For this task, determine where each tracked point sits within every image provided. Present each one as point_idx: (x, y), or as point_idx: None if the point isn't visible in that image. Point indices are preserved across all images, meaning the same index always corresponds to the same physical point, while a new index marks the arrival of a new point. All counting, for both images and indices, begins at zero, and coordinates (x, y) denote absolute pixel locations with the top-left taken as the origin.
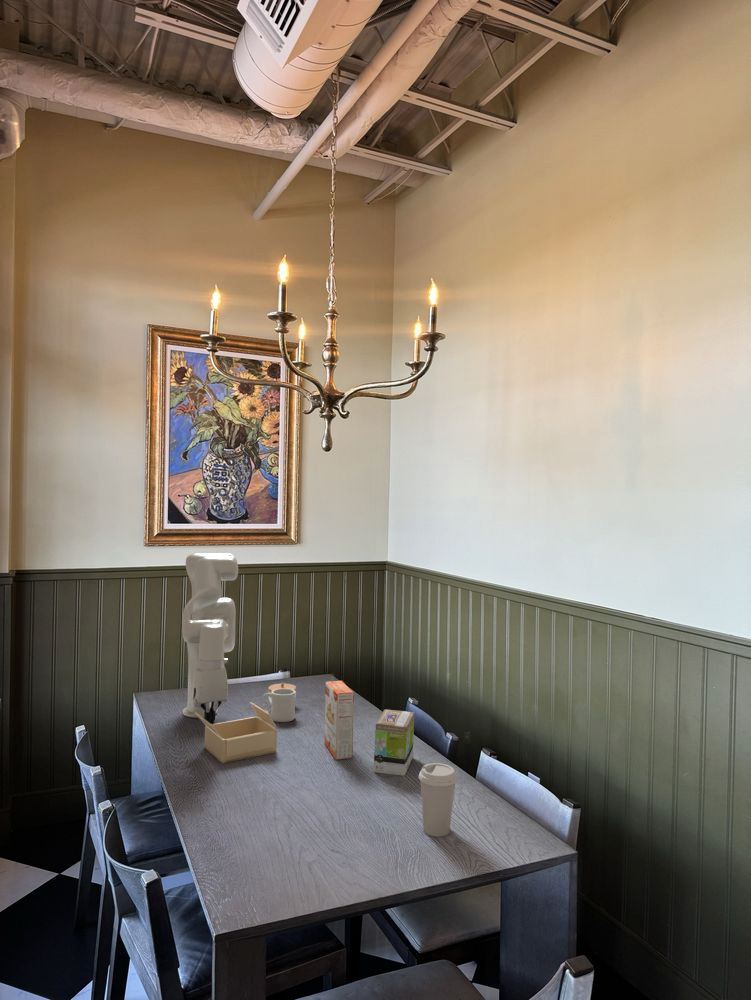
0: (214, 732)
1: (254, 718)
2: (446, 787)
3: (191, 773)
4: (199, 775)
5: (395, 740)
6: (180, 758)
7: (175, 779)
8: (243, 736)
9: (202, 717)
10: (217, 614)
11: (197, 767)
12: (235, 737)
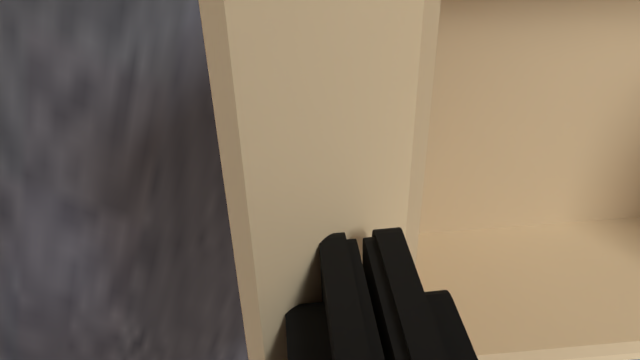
0: (411, 176)
1: None
2: None
3: (123, 297)
4: (166, 333)
5: None
6: (70, 14)
7: (13, 333)
8: (582, 355)
9: (258, 318)
10: None
11: (179, 234)
12: (511, 358)
